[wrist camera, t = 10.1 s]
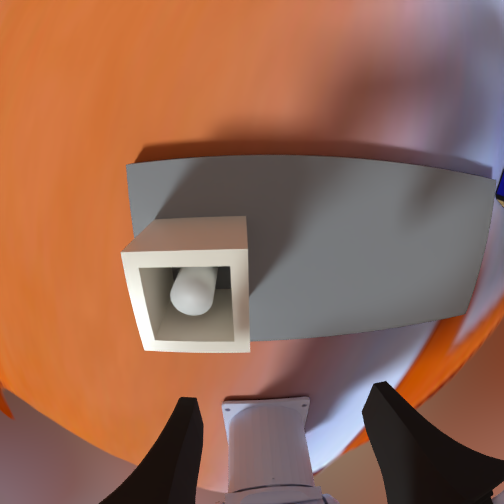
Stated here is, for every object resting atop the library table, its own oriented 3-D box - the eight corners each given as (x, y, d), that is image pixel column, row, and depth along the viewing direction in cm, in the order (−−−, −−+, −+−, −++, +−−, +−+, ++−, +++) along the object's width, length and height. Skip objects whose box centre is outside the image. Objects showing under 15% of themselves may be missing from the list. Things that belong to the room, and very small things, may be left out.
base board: (458, 307, 20) (489, 338, 15) (159, 330, 20) (141, 380, 15) (486, 177, 16) (531, 192, 11) (133, 163, 15) (92, 173, 10)
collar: (247, 298, 17) (250, 352, 13) (166, 298, 17) (144, 350, 12) (245, 215, 15) (247, 248, 11) (154, 219, 15) (120, 252, 11)
